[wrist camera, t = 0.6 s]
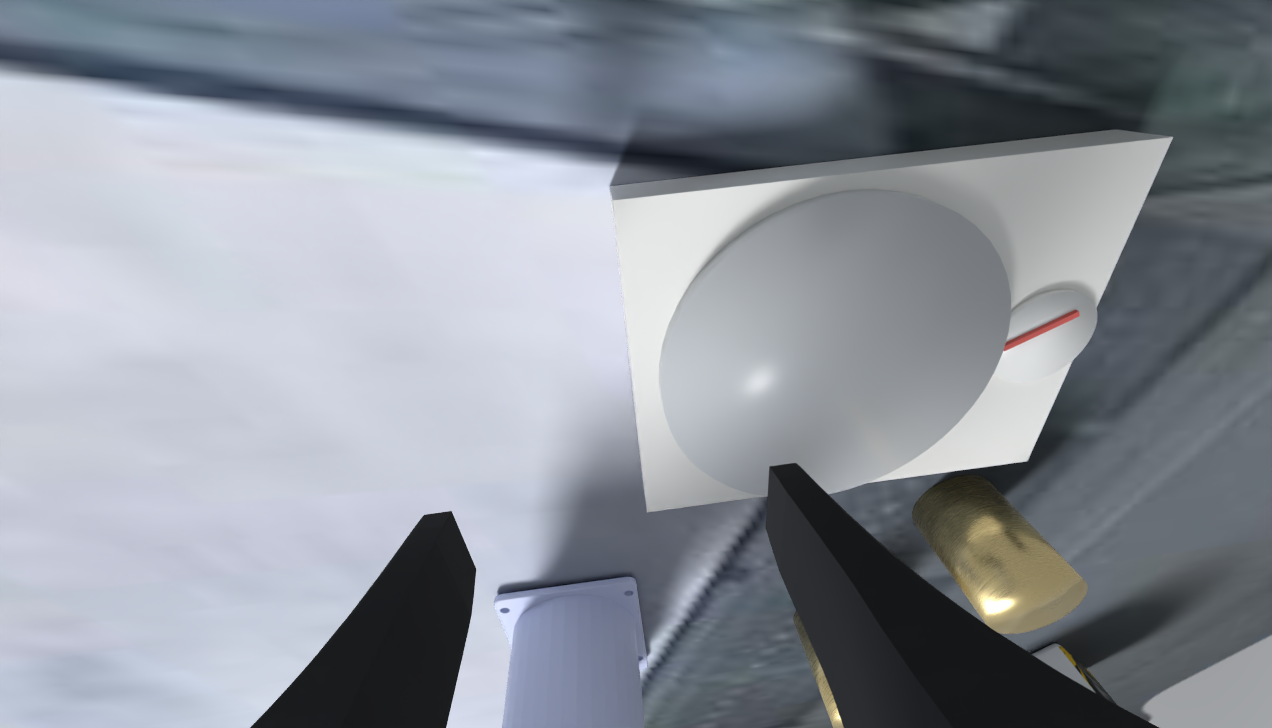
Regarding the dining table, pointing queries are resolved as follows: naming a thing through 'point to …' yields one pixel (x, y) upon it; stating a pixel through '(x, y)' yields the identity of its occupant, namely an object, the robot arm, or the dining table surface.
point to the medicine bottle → (1070, 668)
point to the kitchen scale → (866, 308)
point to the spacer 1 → (818, 674)
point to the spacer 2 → (997, 556)
